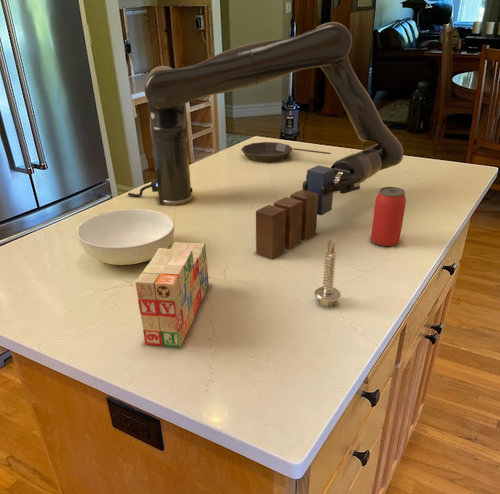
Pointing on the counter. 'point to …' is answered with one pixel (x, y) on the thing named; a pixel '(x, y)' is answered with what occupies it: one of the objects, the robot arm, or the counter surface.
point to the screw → (328, 279)
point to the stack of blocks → (172, 292)
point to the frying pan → (270, 151)
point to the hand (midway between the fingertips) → (313, 189)
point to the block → (320, 186)
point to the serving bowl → (126, 235)
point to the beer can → (388, 216)
